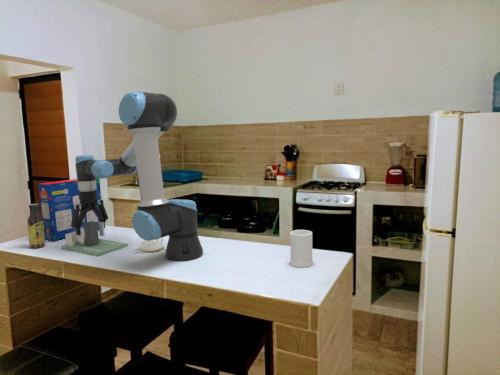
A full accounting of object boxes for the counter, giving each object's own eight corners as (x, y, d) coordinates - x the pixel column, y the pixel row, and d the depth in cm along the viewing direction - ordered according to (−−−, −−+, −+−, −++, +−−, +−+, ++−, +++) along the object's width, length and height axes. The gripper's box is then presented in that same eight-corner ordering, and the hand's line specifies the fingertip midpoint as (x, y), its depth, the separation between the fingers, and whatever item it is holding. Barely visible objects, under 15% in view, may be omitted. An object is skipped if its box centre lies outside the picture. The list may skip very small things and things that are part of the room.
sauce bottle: (39, 249, 168) (34, 205, 165) (26, 248, 169) (21, 205, 166) (48, 244, 175) (44, 203, 172) (36, 244, 176) (32, 203, 173)
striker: (100, 243, 170) (98, 221, 169) (89, 246, 166) (87, 224, 164) (90, 241, 174) (88, 220, 173) (79, 244, 169) (77, 222, 168)
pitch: (128, 245, 169) (127, 233, 168) (98, 256, 155) (96, 242, 154) (92, 239, 182) (91, 227, 181) (61, 248, 168) (59, 235, 167)
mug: (300, 256, 149) (299, 226, 147) (320, 259, 144) (320, 229, 142) (286, 265, 139) (285, 233, 137) (307, 269, 134) (306, 236, 132)
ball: (82, 232, 175) (82, 240, 176) (75, 234, 171) (75, 242, 172) (88, 234, 173) (88, 242, 174) (80, 236, 169) (80, 245, 170)
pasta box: (94, 227, 206) (90, 177, 202) (103, 228, 202) (99, 177, 198) (44, 240, 183) (38, 183, 179) (53, 242, 179) (47, 184, 175)
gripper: (103, 186, 177) (107, 231, 180) (58, 193, 158) (63, 244, 161) (114, 187, 173) (117, 233, 176) (69, 194, 154) (74, 246, 157)
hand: (91, 238), depth 169 cm, fingers open, 10 cm apart
